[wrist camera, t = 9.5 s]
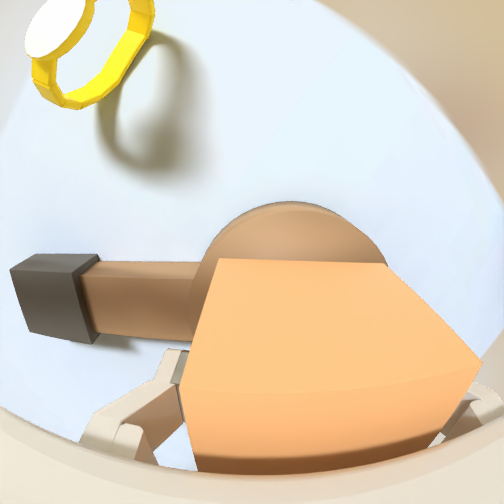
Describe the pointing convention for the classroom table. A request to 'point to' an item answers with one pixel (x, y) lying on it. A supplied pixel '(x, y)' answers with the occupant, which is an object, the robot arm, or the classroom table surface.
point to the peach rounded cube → (317, 369)
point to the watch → (68, 35)
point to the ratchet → (174, 276)
